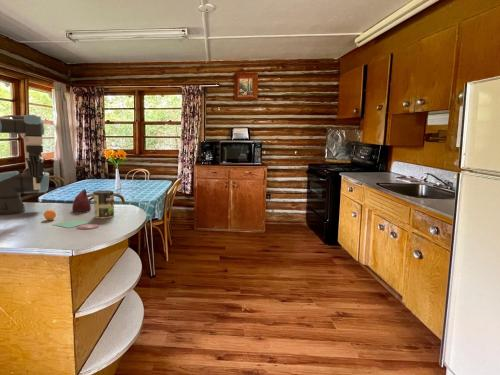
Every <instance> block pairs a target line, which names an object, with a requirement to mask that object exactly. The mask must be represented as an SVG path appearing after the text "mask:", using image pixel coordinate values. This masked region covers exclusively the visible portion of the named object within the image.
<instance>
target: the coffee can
mask: <svg viewBox="0 0 500 375" xmlns="http://www.w3.org/2000/svg"><path fill="white" fill-rule="evenodd" d="M92 193H93V211H94V212H93V213H94V218H95V219H103V220H104V219H109V218H110V219H111V218H114V217H115V203H114V200H115V199H114V191H113V190H96V191H93V192H92Z"/></svg>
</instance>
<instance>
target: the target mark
mask: <svg viewBox="0 0 500 375" xmlns="http://www.w3.org/2000/svg"><path fill="white" fill-rule="evenodd" d="M86 224H90V222H88V221H82V220H78V219H77V220H76V219H74V220H73V219H72V220H67V221H64V222H59V223H53V224H52V226H55V227H56V226H57V227H60V228H66V229H71V228H75V227H78V226H81V225H86Z"/></svg>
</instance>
